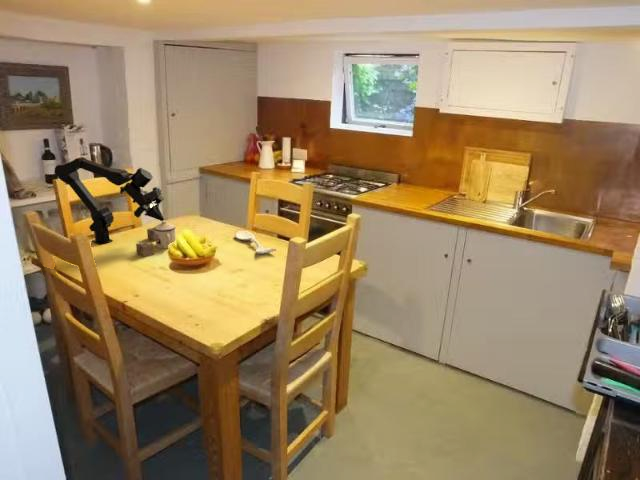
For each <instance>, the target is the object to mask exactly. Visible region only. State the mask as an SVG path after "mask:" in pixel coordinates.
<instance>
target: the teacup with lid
mask: <svg viewBox="0 0 640 480" xmlns="http://www.w3.org/2000/svg"><path fill="white" fill-rule="evenodd" d="M154 230H155V239H156V241H155V246H156V248H158V249H163V250H165V249H169V248H168V245H169V244H170V243H172V242H174V241H175V240H176V226H175V224H172V223H170V222H168V221H167V220H163V221H161V223H159V224H156V225H155V226H154Z"/></svg>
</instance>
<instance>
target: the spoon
mask: <svg viewBox="0 0 640 480" xmlns="http://www.w3.org/2000/svg"><path fill="white" fill-rule="evenodd" d="M234 236H235V238H236V239H239V240H241V241H250V242H252V243H255V245H256V249H255V252H256V254H258V255H259V254H268V253H273V252H276V251H277V249H276V248H269V247H268V248H267V247H263V246H262V245H261V244H260V243H259V241H258V240H257V238H255V235H254V233H252V232H251V231H247V230H239V231H236V232H235V233H234Z"/></svg>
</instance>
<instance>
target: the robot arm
mask: <svg viewBox="0 0 640 480" xmlns="http://www.w3.org/2000/svg"><path fill="white" fill-rule="evenodd" d="M80 169H82V170H84V171H87V172H91V173H92V174H95V175H98V176H100V177H103V178H104V179H107V181H108V182H110V183H112V184H114V185H115V186H116V187H117V186H118V187H119V186H120V188H119V189H120V190H119V192H120V194H123V193H125V194H127V195H128V196H129V197H130V198H131V199H132V203H133V204H134V203H136V204H137V205H138V207H137V208H136V209H135V210H134V211H133V216H135V217H136V218H137V219H138V218H140V217H141V216H142V214H143V213H144V212H145V213H144V216H147V217H149V218H153V219H156V220H158V221H161V222H162V221H165V218H164V215H163V214H162V212H161V210H160V204H161V203H162V202H163V201H164V199H165V198H164V197H163V196H162V189H161V188H160V187H158V186H155V187H152V190H151V191H148V190H143V189H142V188H145V187H146V186H147V185H148V184H149V183H150V182H151V181H152V180H153V174H152V173H151V172H149V171H148V170H146V169H144V168H143V167H138V169H137V170H136V171H135V173H131V172H129V171H127V170H125V169H120V168H110V167H109V166H105V165H103V164H101V163H98V162H95V161H92V160H90V159H87V158H85V157H84V156H81V157H77V158H74V160H71V161H69V162H64V163H61V164H57V165H56V166H55V167H54V174H55V176H56V177H57V178H58V179H59V180H60V181H61V182H63V183H65V184H67V185H68V186H69V187H70V188H71V189H72V190H73V192H74V193H75V194H76V196H77V197H78V198H79V200H81V202H82V204H84V206H85V207H86V208H87V209H88V211H89V212H90V217H91V220H92V223H91V224H90V225H89V226H88V227H89V230H90V231H91V232H93V233H94V239H93V240H91V242H92V243H94V244H97V245H104V244H108V243H111V242H113V241H114V240H113V239H111V238H110V232H109V227H111V226H112V223H114V219H115V217H114V214H113V212H112V211H111V210H110V208H109V207H108V206H105V207H104V206H102V205H101V204H100V203H99V202H98V201H97V199H96V198H95V196H93V194H91V192H90V190H88V188H87V187H86V185H85V184H84V183H83V182H82V180H81V179H80V174H79V171H78V170H80ZM123 185H124V186H123Z"/></svg>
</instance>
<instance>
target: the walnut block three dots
mask: <svg viewBox="0 0 640 480" xmlns="http://www.w3.org/2000/svg"><path fill="white" fill-rule="evenodd" d="M154 227H155V226H154ZM154 227H150V228H147V230H146V232H147V240H150V241H152V242H156V239H155V230H154Z"/></svg>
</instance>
